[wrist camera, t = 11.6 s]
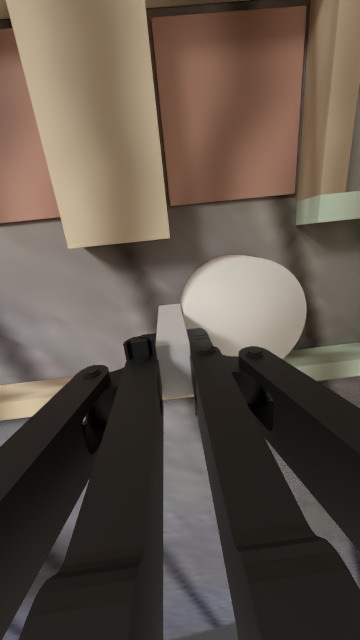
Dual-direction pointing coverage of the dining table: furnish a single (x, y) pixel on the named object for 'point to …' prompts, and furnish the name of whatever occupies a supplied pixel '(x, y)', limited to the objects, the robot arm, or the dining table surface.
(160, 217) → the beige flat wooden frame
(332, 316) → the dining table surface
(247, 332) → the white pebble
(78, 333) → the dining table surface
